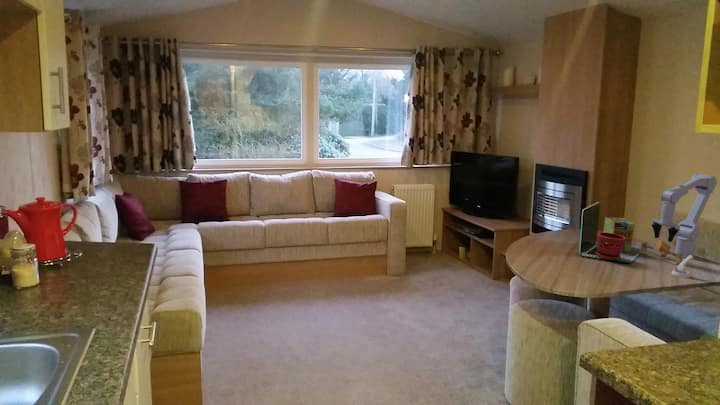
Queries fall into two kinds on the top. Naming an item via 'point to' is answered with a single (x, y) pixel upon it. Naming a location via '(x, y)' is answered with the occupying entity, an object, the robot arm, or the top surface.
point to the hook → (682, 268)
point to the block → (661, 247)
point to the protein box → (620, 229)
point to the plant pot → (610, 245)
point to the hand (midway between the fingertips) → (663, 239)
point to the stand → (658, 256)
